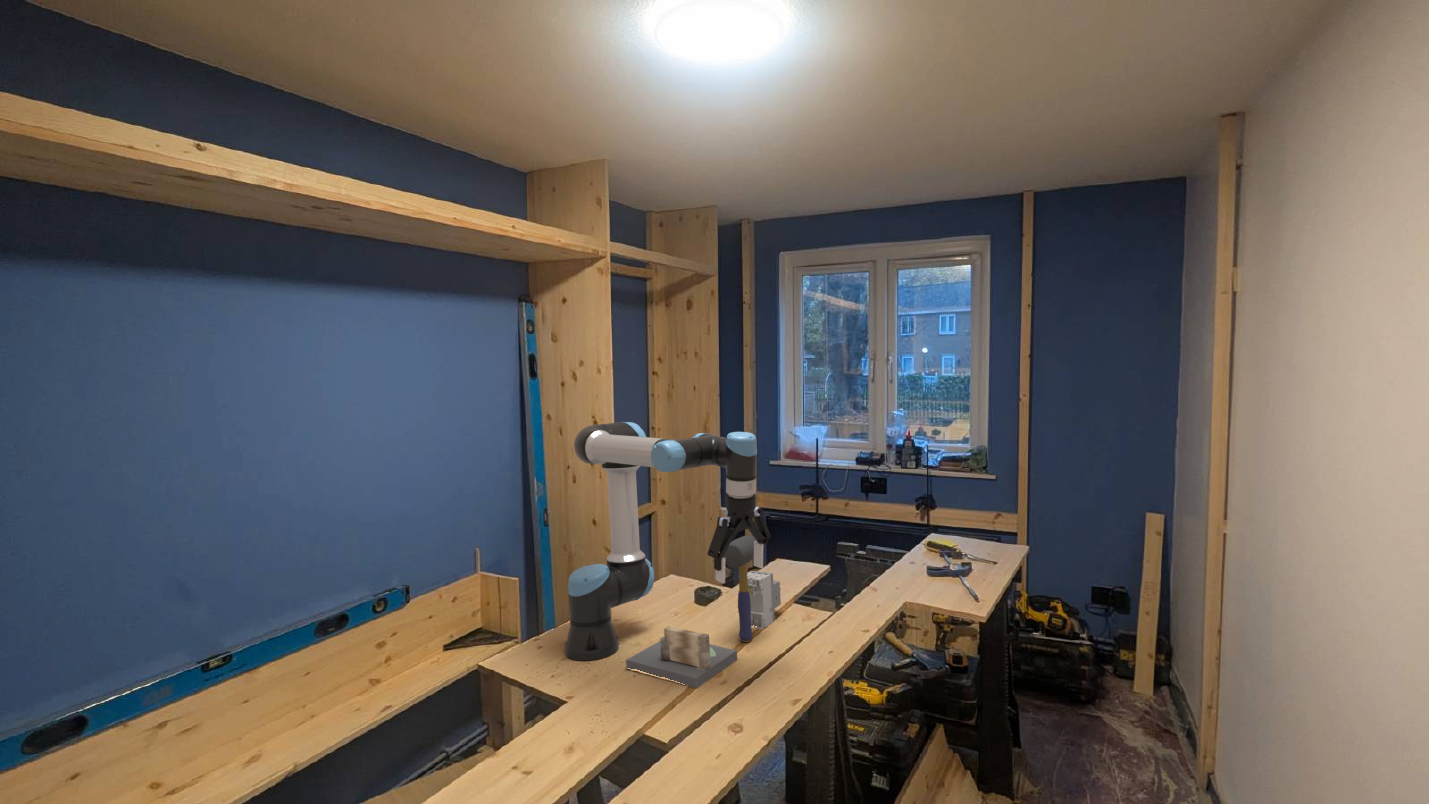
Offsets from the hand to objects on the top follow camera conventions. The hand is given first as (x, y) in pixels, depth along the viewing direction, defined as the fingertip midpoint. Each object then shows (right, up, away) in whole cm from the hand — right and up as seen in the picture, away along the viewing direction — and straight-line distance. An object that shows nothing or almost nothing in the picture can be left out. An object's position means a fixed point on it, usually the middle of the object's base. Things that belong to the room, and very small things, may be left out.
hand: (739, 573), depth 163 cm
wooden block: (-14, -24, +3) cm, 28 cm away
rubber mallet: (+3, -25, +22) cm, 33 cm away
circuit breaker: (+9, -25, +38) cm, 46 cm away
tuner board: (-15, -26, +8) cm, 31 cm away
